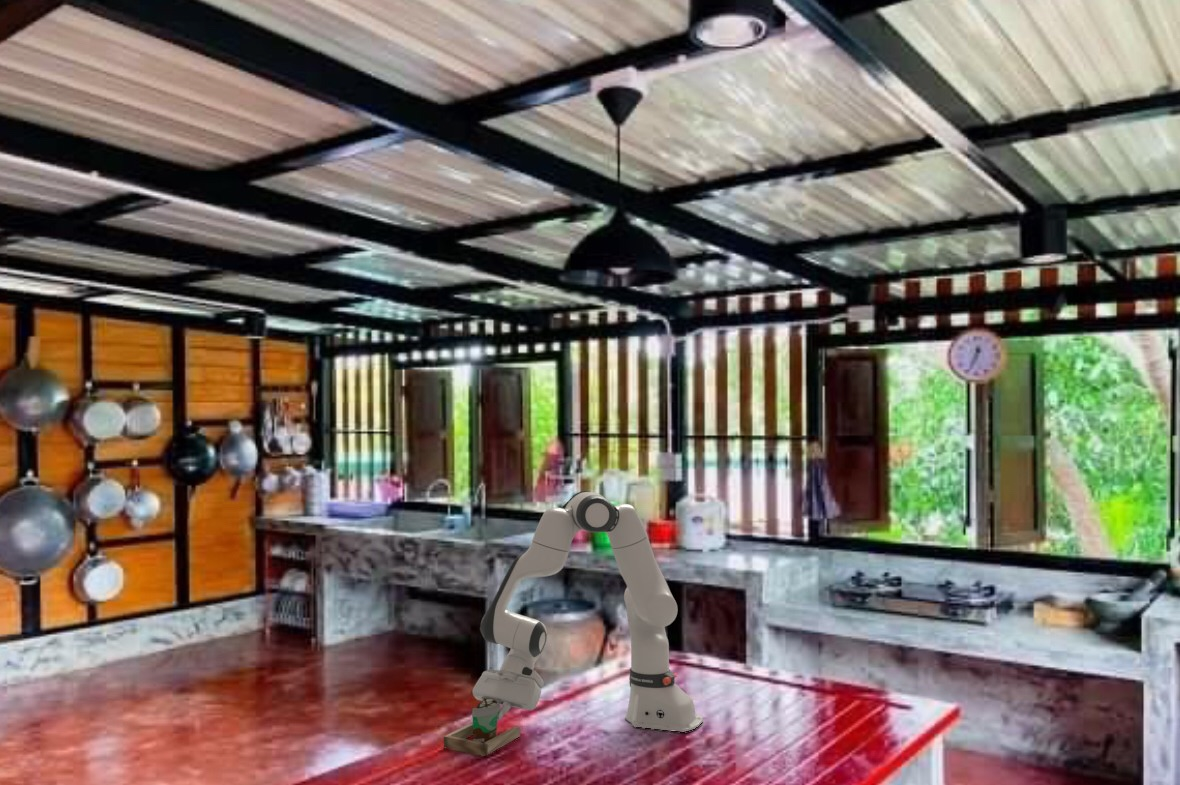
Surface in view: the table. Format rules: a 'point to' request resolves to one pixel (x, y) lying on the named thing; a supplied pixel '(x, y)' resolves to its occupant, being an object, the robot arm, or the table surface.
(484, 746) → the wooden u-shaped frame
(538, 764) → the table surface
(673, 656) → the table surface
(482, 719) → the food container
